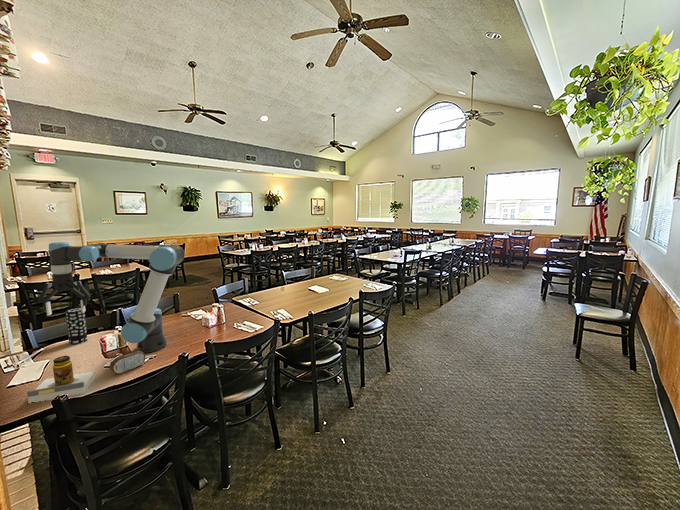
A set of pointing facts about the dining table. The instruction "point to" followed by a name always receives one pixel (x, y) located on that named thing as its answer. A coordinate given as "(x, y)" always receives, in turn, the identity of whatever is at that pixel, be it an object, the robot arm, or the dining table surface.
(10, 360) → the dining table surface
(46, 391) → the grey striped flat slab
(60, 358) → the condiment
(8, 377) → the dining table surface
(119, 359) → the brown grey oval slab
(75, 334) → the spotted tube
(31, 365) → the dining table surface
